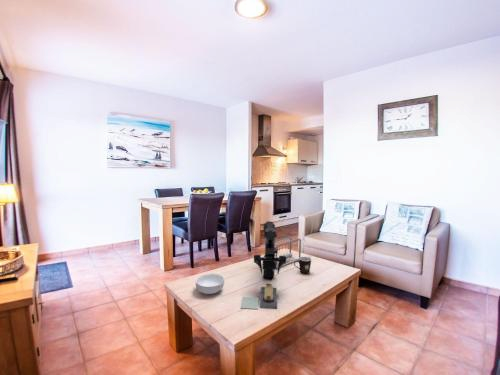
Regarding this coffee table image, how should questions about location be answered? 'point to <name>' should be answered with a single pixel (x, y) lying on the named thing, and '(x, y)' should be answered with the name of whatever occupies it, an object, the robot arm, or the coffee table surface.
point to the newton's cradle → (289, 250)
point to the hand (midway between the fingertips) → (269, 273)
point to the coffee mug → (304, 265)
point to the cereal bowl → (210, 283)
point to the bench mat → (249, 303)
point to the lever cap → (268, 294)
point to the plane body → (268, 304)
